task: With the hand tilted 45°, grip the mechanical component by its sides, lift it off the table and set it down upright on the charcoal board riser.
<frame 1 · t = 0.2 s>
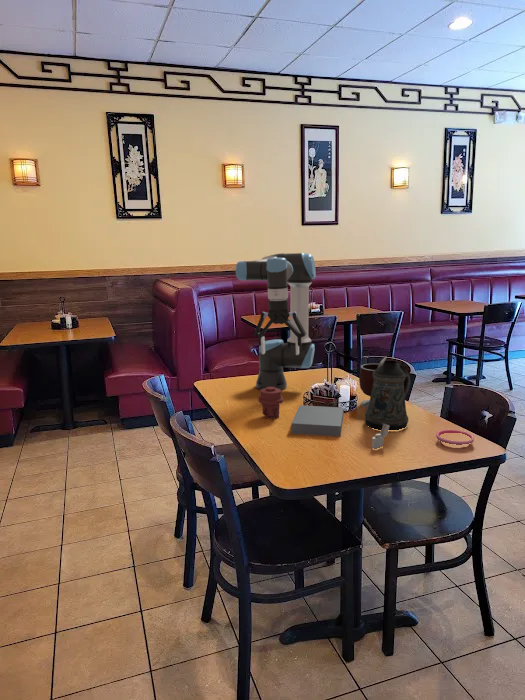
hand: (280, 353, 199), 27 cm above the table, tool pointing down, fingers open, 13 cm apart
pink torus ring: (454, 444, 181), on the table
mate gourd: (375, 405, 224), on the table
mechanical component: (270, 417, 210), on the table
riser: (318, 424, 200), on the table
lighter: (380, 448, 177), on the table
beer stein: (386, 424, 201), on the table
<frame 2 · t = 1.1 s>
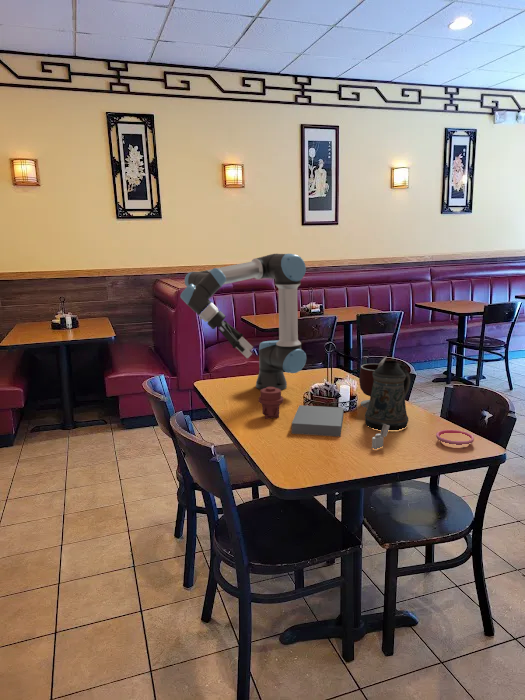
hand: (250, 352, 210), 26 cm above the table, tool tilted 45°, fingers open, 13 cm apart
nothing on the table moved.
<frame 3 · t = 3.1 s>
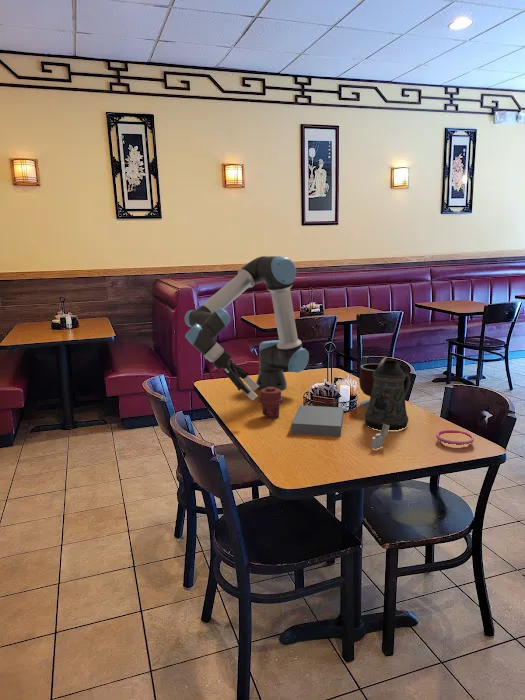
hand: (256, 393, 207), 10 cm above the table, tool tilted 45°, fingers open, 13 cm apart
nothing on the table moved.
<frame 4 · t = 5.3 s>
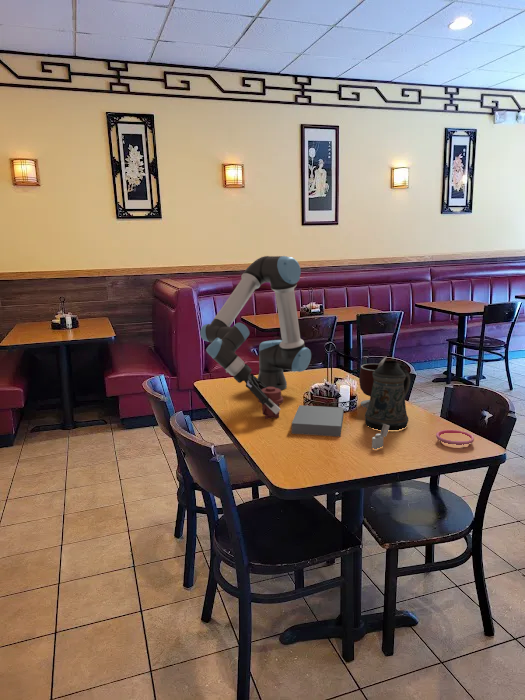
hand: (278, 407, 209), 4 cm above the table, tool tilted 45°, fingers closed on mechanical component, 10 cm apart
mechanical component: (270, 417, 210), on the table, touching gripper
everything else where it was.
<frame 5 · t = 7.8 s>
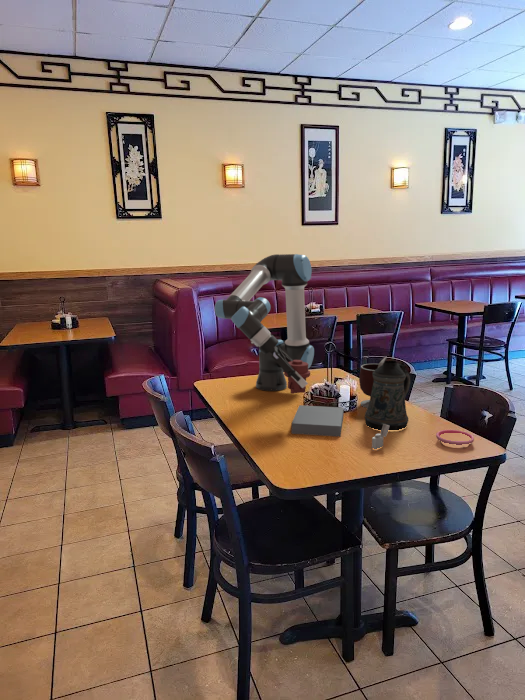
hand: (305, 382, 198), 17 cm above the table, tool tilted 45°, fingers closed on mechanical component, 10 cm apart
mechanical component: (296, 392, 199), point 13 cm above the table, touching gripper
everything else where it was.
when the fingers open (9 cm above the table, at t = 10.3 s): mechanical component drops 1 cm, resting on riser.
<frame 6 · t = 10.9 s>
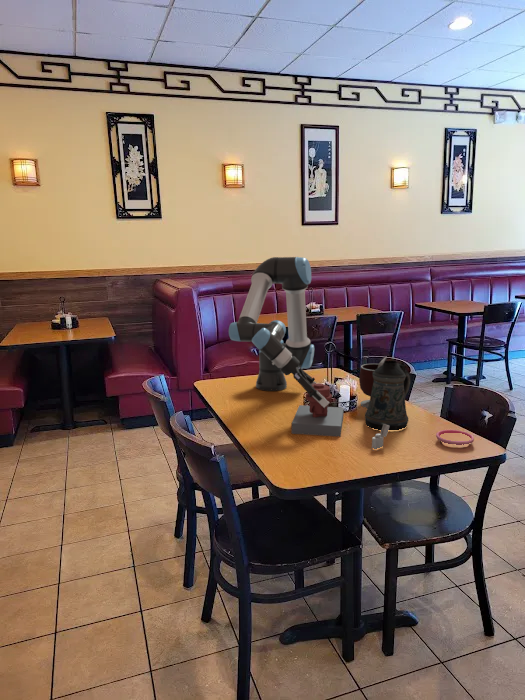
hand: (325, 399, 198), 10 cm above the table, tool tilted 45°, fingers open, 13 cm apart
mechanical component: (318, 415, 199), point 4 cm above the table, touching riser
everything else where it was.
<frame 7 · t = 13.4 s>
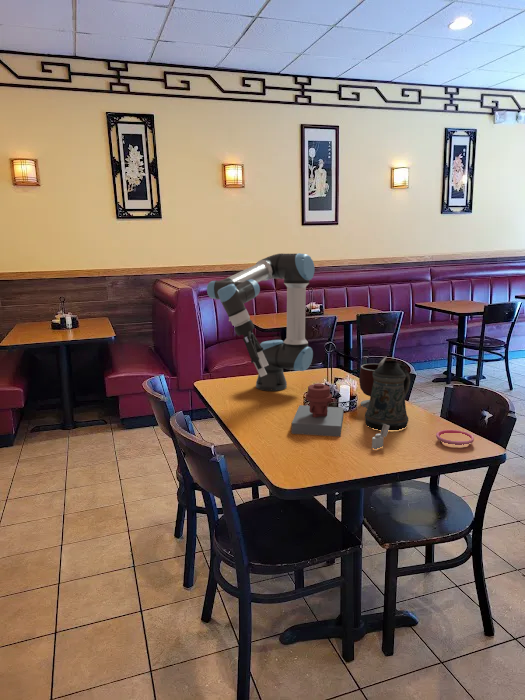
hand: (264, 370, 204), 20 cm above the table, tool tilted 25°, fingers open, 13 cm apart
nothing on the table moved.
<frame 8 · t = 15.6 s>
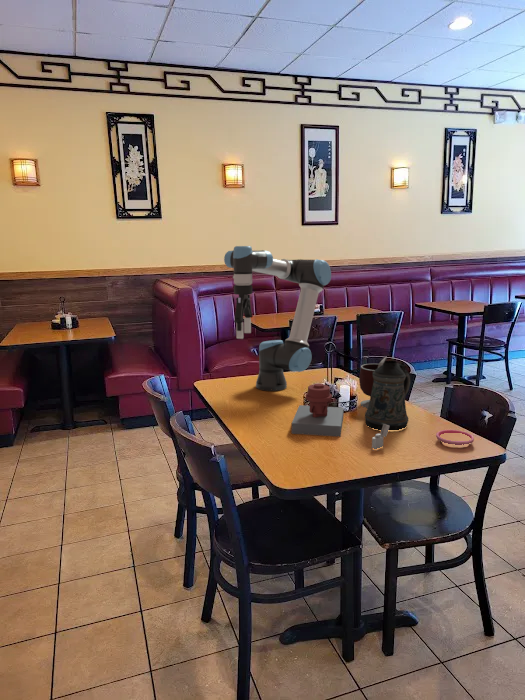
hand: (243, 335, 214), 32 cm above the table, tool pointing down, fingers open, 13 cm apart
nothing on the table moved.
at the end: mechanical component inside the target area on the riser (0.2 cm from its centre), point 3.8 cm above the riser's base; mechanical component tilted 1°; the gripper is holding nothing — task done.
